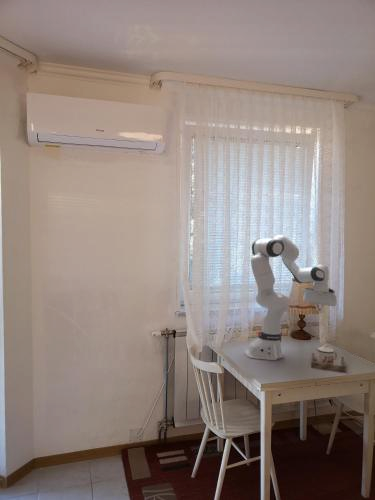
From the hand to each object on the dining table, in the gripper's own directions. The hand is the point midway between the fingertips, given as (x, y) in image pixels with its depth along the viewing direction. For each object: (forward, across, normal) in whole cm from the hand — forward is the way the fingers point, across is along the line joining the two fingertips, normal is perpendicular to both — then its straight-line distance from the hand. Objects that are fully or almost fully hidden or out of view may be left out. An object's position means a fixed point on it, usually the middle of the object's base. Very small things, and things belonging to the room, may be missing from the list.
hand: (318, 311), depth 230 cm
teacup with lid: (+32, +4, -16) cm, 36 cm away
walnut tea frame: (+32, +4, -15) cm, 35 cm away
